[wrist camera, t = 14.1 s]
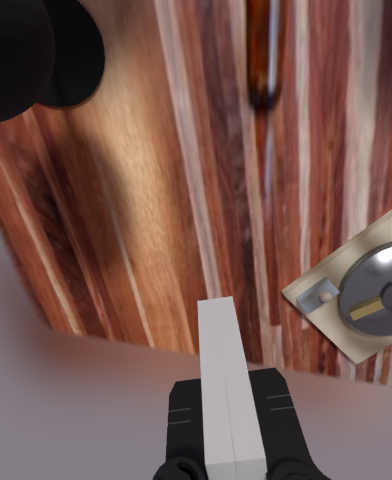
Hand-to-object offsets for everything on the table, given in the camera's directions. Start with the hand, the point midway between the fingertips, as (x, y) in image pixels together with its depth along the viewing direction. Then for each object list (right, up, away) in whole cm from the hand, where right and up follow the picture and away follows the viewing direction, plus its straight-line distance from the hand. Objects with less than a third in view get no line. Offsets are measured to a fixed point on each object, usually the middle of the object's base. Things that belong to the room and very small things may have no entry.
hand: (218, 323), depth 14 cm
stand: (+26, -2, +31) cm, 41 cm away
